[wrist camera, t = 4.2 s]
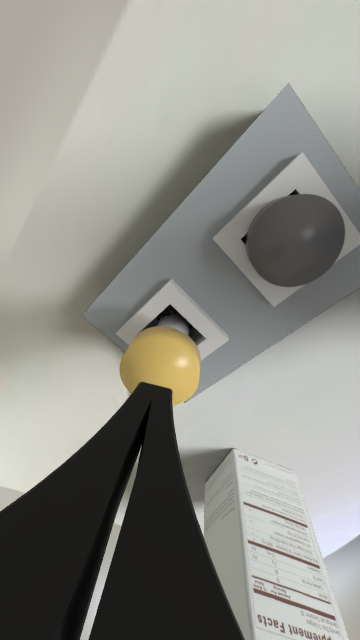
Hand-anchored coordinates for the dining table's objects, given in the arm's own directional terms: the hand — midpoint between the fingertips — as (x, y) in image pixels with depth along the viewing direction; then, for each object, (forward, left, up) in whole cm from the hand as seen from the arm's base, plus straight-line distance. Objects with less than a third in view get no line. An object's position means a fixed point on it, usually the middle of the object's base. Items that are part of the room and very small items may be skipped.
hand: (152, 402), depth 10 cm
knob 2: (0, -8, -9) cm, 12 cm away
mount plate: (0, -4, -10) cm, 10 cm away
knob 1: (0, 0, -7) cm, 7 cm away
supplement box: (-19, +8, -10) cm, 23 cm away
